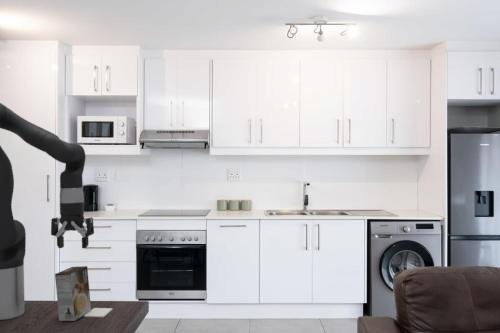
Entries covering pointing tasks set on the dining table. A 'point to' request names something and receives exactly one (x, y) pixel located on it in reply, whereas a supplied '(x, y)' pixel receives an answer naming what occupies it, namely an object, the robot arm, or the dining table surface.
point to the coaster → (98, 312)
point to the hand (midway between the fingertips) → (72, 247)
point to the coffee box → (73, 293)
